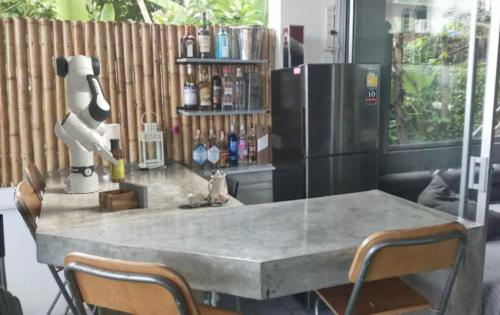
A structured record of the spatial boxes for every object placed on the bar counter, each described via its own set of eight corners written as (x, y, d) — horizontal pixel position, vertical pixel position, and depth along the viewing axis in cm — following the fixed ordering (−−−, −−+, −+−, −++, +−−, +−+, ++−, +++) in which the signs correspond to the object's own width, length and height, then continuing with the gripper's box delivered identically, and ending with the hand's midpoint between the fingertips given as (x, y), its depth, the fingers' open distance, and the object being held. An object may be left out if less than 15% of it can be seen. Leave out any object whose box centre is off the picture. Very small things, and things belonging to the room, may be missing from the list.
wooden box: (99, 207, 198) (98, 192, 197) (124, 202, 207) (123, 188, 206) (112, 212, 189) (112, 196, 188) (137, 206, 198) (137, 191, 197)
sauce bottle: (127, 181, 198) (125, 138, 195) (119, 183, 192) (117, 139, 190) (115, 180, 200) (113, 137, 198) (107, 182, 195) (104, 139, 192)
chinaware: (214, 198, 220) (210, 166, 219) (243, 198, 212) (239, 165, 211) (182, 211, 195) (178, 175, 194) (213, 212, 188) (209, 174, 186)
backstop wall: (119, 200, 210) (118, 180, 209) (123, 200, 212) (122, 180, 210) (144, 208, 195) (143, 186, 194) (148, 207, 196) (147, 186, 195)
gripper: (98, 139, 182) (123, 161, 186) (99, 135, 201) (121, 155, 205) (87, 150, 181) (113, 171, 185) (89, 145, 200) (112, 165, 204)
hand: (117, 163), depth 195 cm, fingers closed on sauce bottle, 6 cm apart
